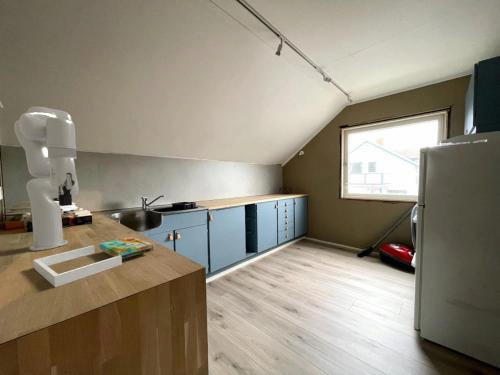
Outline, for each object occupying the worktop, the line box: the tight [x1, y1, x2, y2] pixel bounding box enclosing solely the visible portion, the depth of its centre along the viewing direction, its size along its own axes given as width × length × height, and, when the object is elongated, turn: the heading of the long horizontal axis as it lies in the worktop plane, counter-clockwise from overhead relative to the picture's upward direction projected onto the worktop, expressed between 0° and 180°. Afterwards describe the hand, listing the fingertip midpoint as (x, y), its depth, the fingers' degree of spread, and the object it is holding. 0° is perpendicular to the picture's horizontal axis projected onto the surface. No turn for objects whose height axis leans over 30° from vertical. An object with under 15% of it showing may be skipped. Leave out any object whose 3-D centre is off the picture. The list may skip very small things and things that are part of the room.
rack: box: [33, 245, 123, 288], centre depth 70 cm, size 24×17×3 cm
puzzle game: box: [98, 236, 153, 260], centre depth 81 cm, size 12×5×20 cm
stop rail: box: [146, 244, 154, 252], centre depth 87 cm, size 16×1×2 cm, turn 56°
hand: (65, 205), depth 74 cm, fingers closed
